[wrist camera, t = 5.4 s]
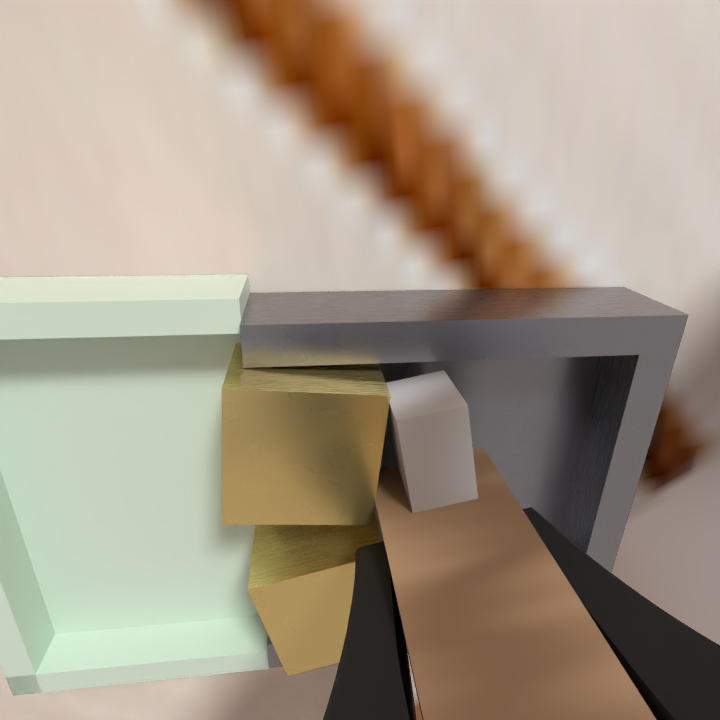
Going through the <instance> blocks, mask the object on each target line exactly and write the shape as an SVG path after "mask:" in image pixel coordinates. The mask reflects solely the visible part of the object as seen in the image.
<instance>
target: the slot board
mask: <svg viewBox="0 0 720 720" xmlns="http://www.w3.org/2000/svg"><path fill="white" fill-rule="evenodd" d="M687 318H688V314H685V313H683V312H681V311H678V310H676V309H674V308H671V307H669V306H667V305H664V304H662V303H660V302H657V301H655V300H653V299H650V298H648V297H646V296H644V295H641V294H639V293H637V292H634V291H632V290H630V289H627V288H625V287H614V288H550V289H487V290H424V291H361V292H298V293H250V294H249V297H248V300H247V303H246V306H245V309H244V313H243V316H242V319H241V322H240V337H241V348H242V360H243V368H254V367H284V366H315V365H345V364H375V363H379V366H380V369H381V371H382V374H383V377H384V379H385V382H386V383H387V382H392V381H397V380H401V379H406V378H410V377H415V376H420V375H424V374H429V373H433V372H438V371H443V370H444V371H445V372H446V374H447V375H448V377H449V378H450V380H451V381H452V383H453V384H454V385H455V387H456V388H457V390H458V391H459V393H460V394H461V396H462V397H463V399H464V400H465V401H466V403H467V404H468V410H469V419H470V428H471V437H472V447H473V450H474V449H479V448H484V450H485V451H486V453H487V455H488V456H489V458H490V459H491V461H492V462H493V464H494V465H495V467H496V469H497V470H498V472H499V473H500V475H501V476H502V478H503V480H504V481H505V483H506V484H507V486H508V487H509V489H510V491H511V492H512V494H513V495H514V497H515V498H516V500H517V502H518V503H519V505H520V506H521V508H522V509H525V508H530V507H531V508H533V509H535V510H536V511H537V512H538V513H539V514H540V515H542V516H543V517H544V518H545V519H546V520H547V521H548V522H550V523H551V524H552V525H553V526H554V527H555V528H556V529H558V530H559V531H560V532H561V533H562V534H563V535H565V536H566V537H567V538H568V539H569V540H571V541H572V542H573V543H574V544H575V545H576V546H578V547H579V548H580V549H581V550H583V551H584V552H585V553H586V554H587V555H589V556H590V557H591V558H593V559H594V560H595V561H596V562H598V563H599V564H600V565H602V566H603V567H604V568H605V569H607V570H608V571H609V572H610V573H611V572H612V569H613V566H614V562H615V558H616V555H617V552H618V549H619V545H620V542H621V538H622V535H623V532H624V529H625V525H626V522H627V519H628V515H629V512H630V509H631V505H632V502H633V499H634V495H635V492H636V489H637V485H638V482H639V479H640V475H641V472H642V469H643V465H644V462H645V459H646V455H647V452H648V449H649V445H650V442H651V439H652V435H653V432H654V428H655V425H656V422H657V418H658V415H659V412H660V408H661V405H662V402H663V398H664V395H665V392H666V388H667V385H668V382H669V378H670V375H671V372H672V368H673V365H674V362H675V358H676V355H677V352H678V348H679V345H680V342H681V338H682V335H683V332H684V328H685V325H686V322H687ZM394 467H398V465H397V460H396V454H395V449H394V443H393V438H392V433H391V427H390V422H389V416H388V418H387V424H386V431H385V438H384V445H383V451H382V458H381V465H380V470H385V469H389V468H394ZM375 508H376V512H377V507H376V503H375ZM377 516H378V512H377ZM378 519H379V517H378ZM379 523H380V521H379ZM380 527H381V526H380ZM406 646H407V645H406ZM267 651H268V662H269V667H278V666H282V663H281V661H280V659H279V657H278V655H277V653H276V650H275V648H274V646H273V644H272V642H271V640H270V637H269V635H268V636H267ZM407 653H408V650H407Z"/></svg>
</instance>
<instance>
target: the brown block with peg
mask: <svg viewBox="0 0 720 720" xmlns="http://www.w3.org/2000/svg"><path fill="white" fill-rule="evenodd" d="M386 385H387V387H388V390H389V393H390V395H391V397H390V404H389V411H388V416H389V422H390V427H391V433H392V438H393V443H394V449H395V454H396V460H397V465H398V467H394V468H389V469H385V470H380V471H379V478H378V485H377V492H376V498H375V503H376V507H377V512H378V517H379V521H380V526H381V531H382V535H383V540H384V545H385V549H386V554H387V559H388V563H389V568H390V572H391V577H392V581H393V586H394V591H395V595H396V600H397V604H398V609H399V613H400V618H401V623H402V627H403V632H404V636H405V641H406V645H407V650H408V655H409V659H410V664H411V668H412V673H413V677H414V682H415V686H416V691H417V696H418V700H419V705H420V709H421V714H422V718H423V720H656V718H655V717H654V715H653V713H652V712H651V710H650V709H649V707H648V706H647V704H646V702H645V701H644V699H643V698H642V696H641V695H640V693H639V691H638V690H637V688H636V687H635V685H634V684H633V682H632V680H631V679H630V677H629V676H628V674H627V673H626V671H625V669H624V668H623V666H622V665H621V663H620V662H619V660H618V658H617V657H616V655H615V654H614V652H613V651H612V649H611V647H610V646H609V644H608V643H607V641H606V640H605V638H604V636H603V635H602V633H601V632H600V630H599V629H598V627H597V626H596V624H595V622H594V621H593V619H592V618H591V616H590V615H589V613H588V611H587V610H586V608H585V607H584V605H583V604H582V602H581V600H580V599H579V597H578V596H577V594H576V593H575V591H574V589H573V588H572V586H571V585H570V583H569V582H568V580H567V578H566V577H565V575H564V574H563V572H562V571H561V569H560V567H559V566H558V564H557V563H556V561H555V560H554V558H553V556H552V555H551V553H550V552H549V550H548V549H547V547H546V546H545V544H544V542H543V541H542V539H541V538H540V536H539V535H538V533H537V531H536V530H535V528H534V527H533V525H532V524H531V522H530V520H529V519H528V517H527V516H526V514H525V513H524V511H523V509H522V508H521V506H520V505H519V503H518V502H517V500H516V498H515V497H514V495H513V494H512V492H511V491H510V489H509V487H508V486H507V484H506V483H505V481H504V480H503V478H502V476H501V475H500V473H499V472H498V470H497V469H496V467H495V465H494V464H493V462H492V461H491V459H490V458H489V456H488V455H487V453H486V451H485V450H484V448H479V449H474V450H473V447H472V437H471V428H470V419H469V410H468V404H467V403H466V401H465V400H464V399H463V397H462V396H461V394H460V393H459V391H458V390H457V388H456V387H455V385H454V384H453V383H452V381H451V380H450V378H449V377H448V375H447V374H446V372H445V371H444V370H443V371H438V372H433V373H429V374H424V375H420V376H415V377H410V378H406V379H401V380H397V381H392V382H387V383H386Z"/></svg>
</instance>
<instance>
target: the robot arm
mask: <svg viewBox="0 0 720 720" xmlns="http://www.w3.org/2000/svg"><path fill="white" fill-rule="evenodd" d="M523 511H524V513H525V514H526V516H527V517H528V519H529V520H530V522H531V524H532V525H533V527H534V528H535V530H536V531H537V533H538V535H539V536H540V538H541V539H542V541H543V542H544V544H545V546H546V547H547V549H548V550H549V552H550V553H551V555H552V556H553V558H554V560H555V561H556V563H557V564H558V566H559V567H560V569H561V571H562V572H563V574H564V575H565V577H566V578H567V580H568V582H569V583H570V585H571V586H572V588H573V589H574V591H575V593H576V594H577V596H578V597H579V599H580V600H581V602H582V604H583V605H584V607H585V608H586V610H587V611H588V613H589V615H590V616H591V618H592V619H593V621H594V622H595V624H596V626H597V627H598V629H599V630H600V632H601V633H602V635H603V636H604V638H605V640H606V641H607V643H608V644H609V646H610V647H611V649H612V651H613V652H614V654H615V655H616V657H617V658H618V660H619V662H620V663H621V665H622V666H623V668H624V669H625V671H626V673H627V674H628V676H629V677H630V679H631V680H632V682H633V684H634V685H635V687H636V688H637V690H638V691H639V693H640V695H641V696H642V698H643V699H644V701H645V702H646V704H647V706H648V707H649V709H650V710H651V712H652V713H653V715H654V717H655V718H656V720H720V645H718V644H716V643H715V642H713V641H711V640H710V639H708V638H706V637H704V636H703V635H701V634H700V633H698V632H696V631H695V630H693V629H691V628H690V627H688V626H687V625H685V624H684V623H682V622H680V621H679V620H677V619H676V618H674V617H673V616H671V615H670V614H668V613H667V612H665V611H664V610H662V609H661V608H659V607H658V606H656V605H655V604H653V603H652V602H650V601H649V600H647V599H646V598H645V597H643V596H641V595H640V594H639V593H638V592H636V591H635V590H633V589H632V588H631V587H629V586H628V585H626V584H625V583H624V582H622V581H621V580H620V579H618V578H617V577H616V576H614V575H613V574H612V573H610V572H609V571H608V570H607V569H605V568H604V567H603V566H602V565H600V564H599V563H598V562H596V561H595V560H594V559H593V558H591V557H590V556H589V555H587V554H586V553H585V552H584V551H583V550H581V549H580V548H579V547H578V546H576V545H575V544H574V543H573V542H572V541H571V540H569V539H568V538H567V537H566V536H565V535H563V534H562V533H561V532H560V531H559V530H558V529H556V528H555V527H554V526H553V525H552V524H551V523H550V522H548V521H547V520H546V519H545V518H544V517H543V516H542V515H540V514H539V513H538V512H537V511H536V510H535V509H533V508H531V507H530V508H525V509H523ZM323 720H416V713H415V706H414V698H413V691H412V683H411V676H410V668H409V661H408V654H407V646H406V641H405V637H404V632H403V627H402V623H401V618H400V614H399V609H398V604H397V600H396V595H395V591H394V586H393V581H392V577H391V572H390V568H389V563H388V559H387V554H386V550H385V545H384V541H383V542H379V543H375V544H371V545H366V546H362V547H359V548H358V549H357V550H356V551H355V578H354V588H353V596H352V603H351V609H350V614H349V620H348V626H347V631H346V636H345V641H344V645H343V649H342V653H341V657H340V662H339V666H338V670H337V674H336V678H335V682H334V685H333V689H332V692H331V696H330V699H329V702H328V706H327V709H326V712H325V715H324V718H323Z"/></svg>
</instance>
